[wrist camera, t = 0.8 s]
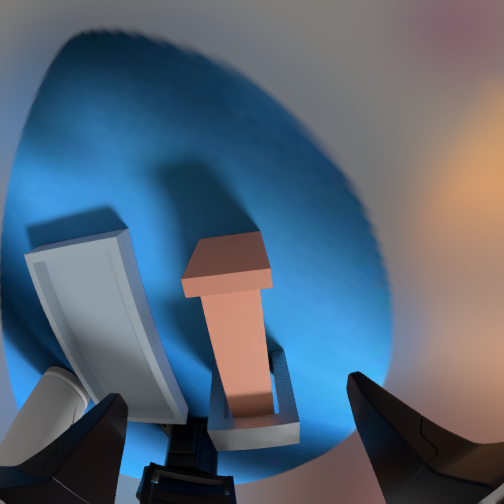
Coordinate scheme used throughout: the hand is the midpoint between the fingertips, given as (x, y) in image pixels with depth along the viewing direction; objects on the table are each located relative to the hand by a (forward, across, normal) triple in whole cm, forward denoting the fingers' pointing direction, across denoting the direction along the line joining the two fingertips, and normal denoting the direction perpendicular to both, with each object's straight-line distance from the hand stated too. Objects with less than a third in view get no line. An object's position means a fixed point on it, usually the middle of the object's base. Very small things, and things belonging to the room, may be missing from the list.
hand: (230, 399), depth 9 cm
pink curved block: (+11, 0, +5) cm, 12 cm away
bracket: (+11, 0, +9) cm, 14 cm away
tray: (+11, +12, +5) cm, 17 cm away
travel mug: (+12, +22, +12) cm, 27 cm away
